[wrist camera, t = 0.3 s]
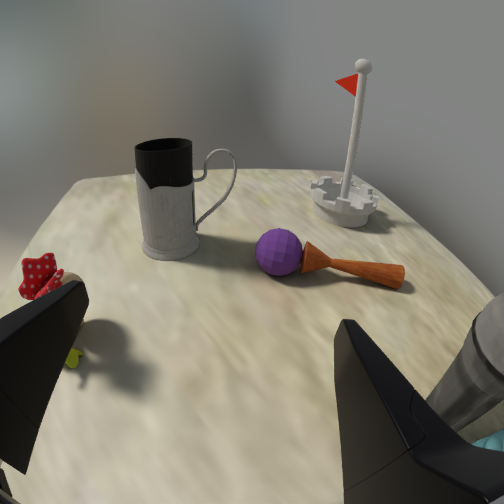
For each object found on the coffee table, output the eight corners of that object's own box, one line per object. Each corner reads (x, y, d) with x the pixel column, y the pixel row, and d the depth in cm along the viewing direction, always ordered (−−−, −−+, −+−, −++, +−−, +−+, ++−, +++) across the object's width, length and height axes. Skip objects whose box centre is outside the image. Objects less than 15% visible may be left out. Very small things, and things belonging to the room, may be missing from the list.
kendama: (412, 279, 32) (254, 246, 33) (392, 307, 36) (249, 279, 37) (404, 246, 36) (262, 215, 37) (387, 275, 40) (257, 248, 41)
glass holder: (142, 232, 44) (132, 140, 36) (227, 222, 48) (230, 133, 40) (141, 264, 38) (126, 156, 29) (241, 251, 42) (247, 147, 33)
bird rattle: (65, 331, 29) (20, 364, 20) (56, 240, 27) (0, 255, 18) (106, 342, 29) (63, 383, 20) (100, 245, 27) (43, 263, 18)
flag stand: (381, 216, 55) (408, 72, 38) (356, 238, 47) (389, 57, 30) (327, 194, 62) (345, 60, 45) (294, 211, 54) (312, 48, 37)
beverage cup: (471, 428, 18) (604, 265, 7) (426, 469, 16) (605, 294, 4) (436, 381, 23) (539, 209, 12) (388, 412, 21) (514, 212, 10)
